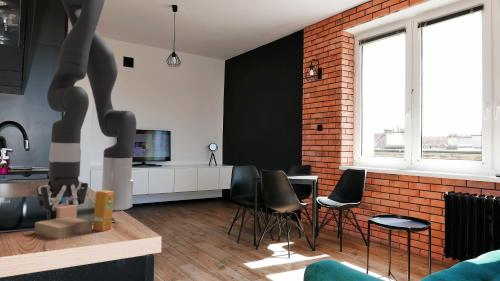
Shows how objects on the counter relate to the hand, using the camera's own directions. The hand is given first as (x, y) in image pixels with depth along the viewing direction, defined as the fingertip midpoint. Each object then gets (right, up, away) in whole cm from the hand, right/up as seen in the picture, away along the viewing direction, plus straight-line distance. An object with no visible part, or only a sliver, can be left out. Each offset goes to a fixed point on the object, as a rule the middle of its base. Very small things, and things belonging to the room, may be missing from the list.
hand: (61, 222), depth 95 cm
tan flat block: (+5, -1, -8) cm, 9 cm away
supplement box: (+13, -1, -4) cm, 13 cm away
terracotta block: (0, -1, 0) cm, 1 cm away
